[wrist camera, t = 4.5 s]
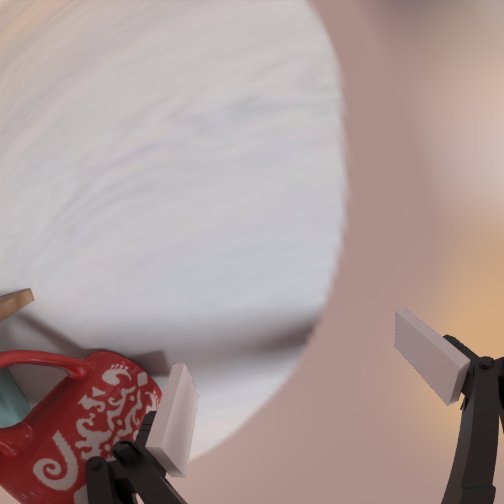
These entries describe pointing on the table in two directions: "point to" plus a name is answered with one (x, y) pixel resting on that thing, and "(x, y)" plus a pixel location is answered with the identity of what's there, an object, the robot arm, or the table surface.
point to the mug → (72, 424)
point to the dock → (3, 386)
